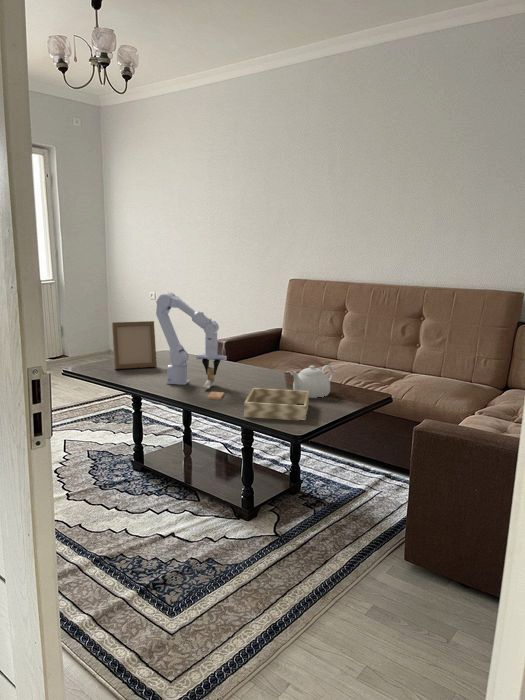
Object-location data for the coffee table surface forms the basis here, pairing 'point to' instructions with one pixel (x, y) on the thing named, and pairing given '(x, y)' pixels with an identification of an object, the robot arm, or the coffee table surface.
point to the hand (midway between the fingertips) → (211, 374)
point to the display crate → (276, 410)
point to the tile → (215, 395)
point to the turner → (209, 377)
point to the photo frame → (134, 344)
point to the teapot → (313, 381)
